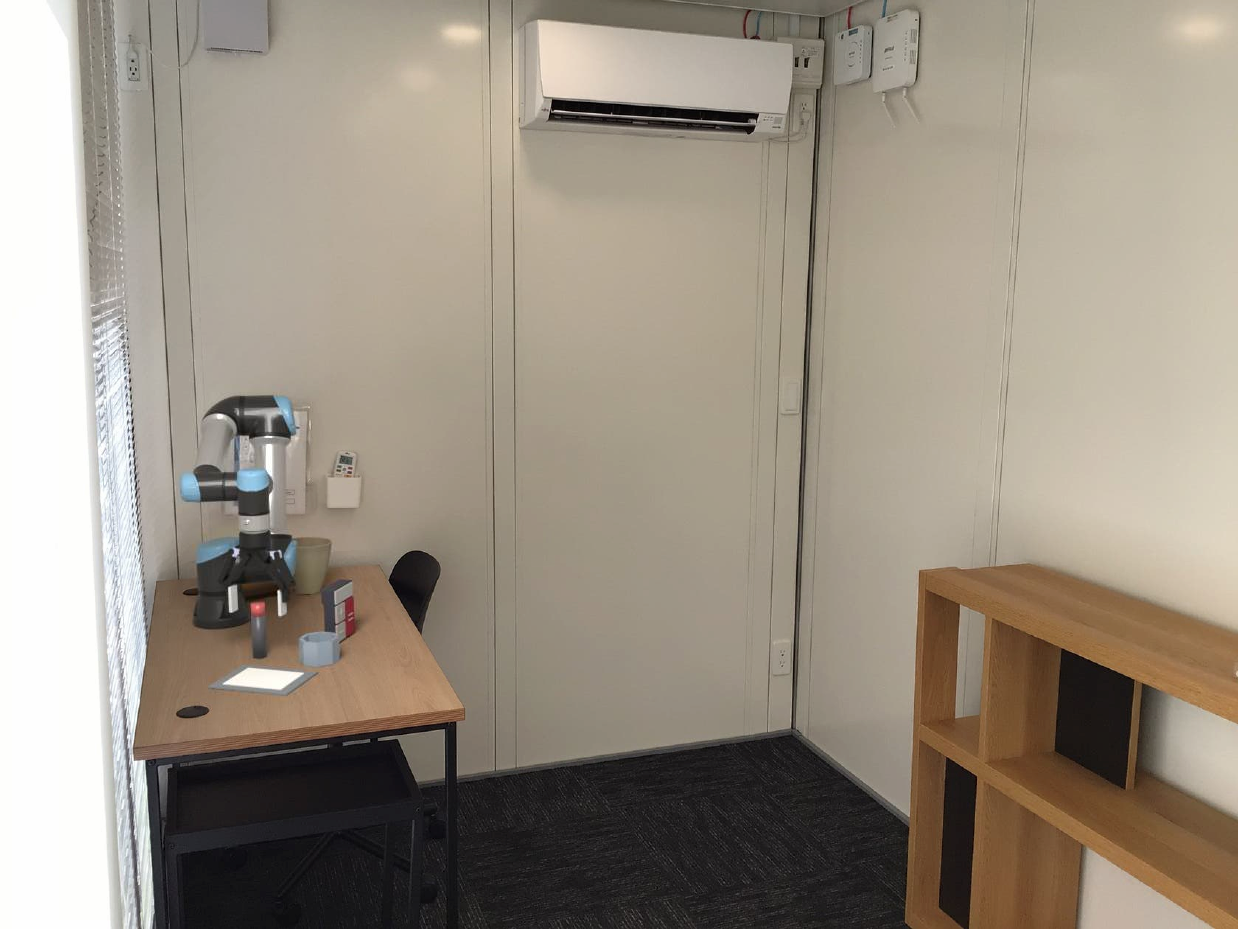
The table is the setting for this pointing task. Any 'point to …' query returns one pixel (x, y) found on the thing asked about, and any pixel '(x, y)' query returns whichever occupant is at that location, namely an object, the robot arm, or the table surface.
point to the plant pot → (311, 563)
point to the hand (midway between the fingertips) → (257, 613)
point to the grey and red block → (339, 608)
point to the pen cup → (319, 649)
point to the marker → (258, 630)
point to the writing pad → (264, 680)
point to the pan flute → (259, 590)
